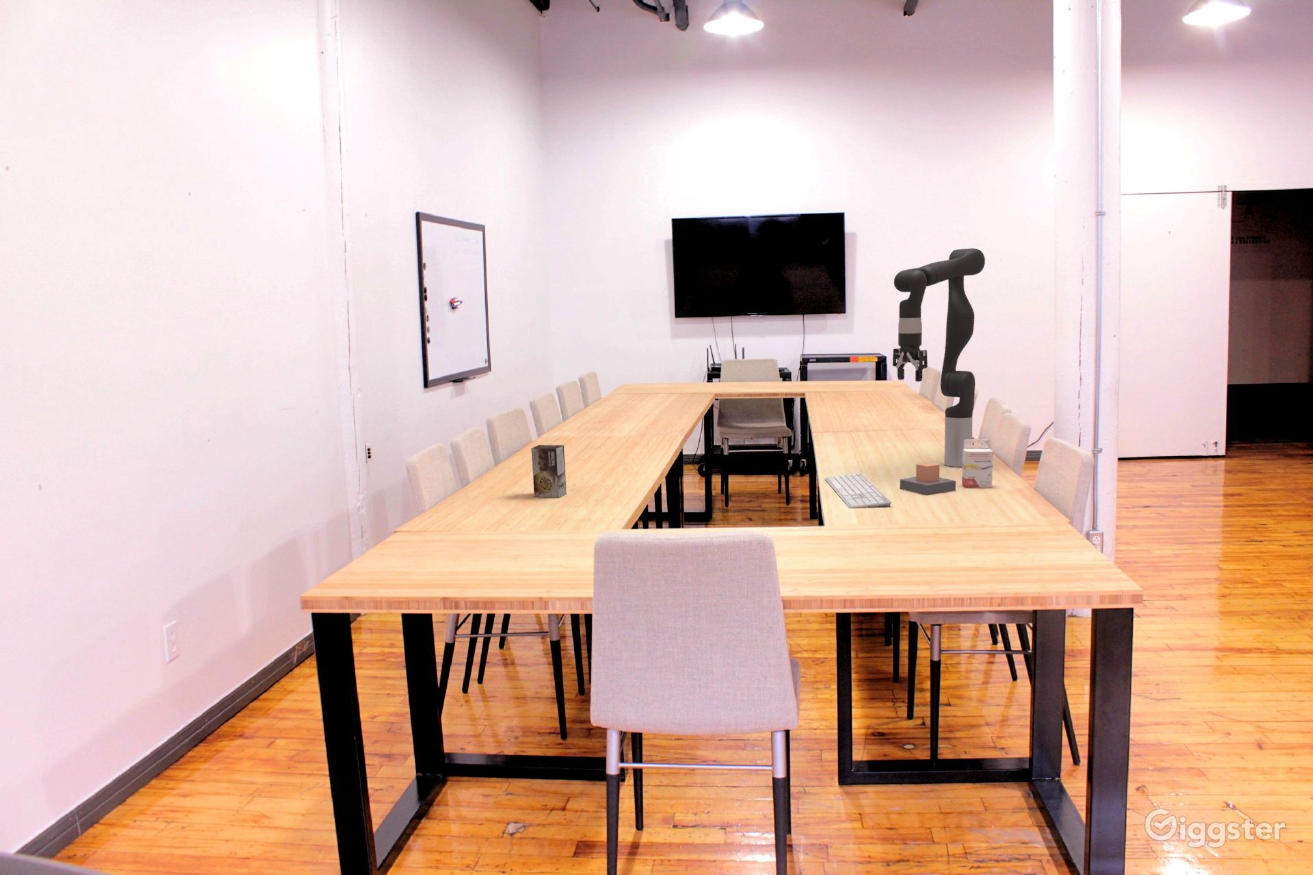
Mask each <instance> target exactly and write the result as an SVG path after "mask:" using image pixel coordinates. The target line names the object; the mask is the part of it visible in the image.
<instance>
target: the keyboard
mask: <svg viewBox="0 0 1313 875" xmlns="http://www.w3.org/2000/svg"><path fill="white" fill-rule="evenodd" d="M824 480H825V481H826V482H827V483H828V485H829V486H830V487H831V488H832V489H833V490H834V492H836V494H837V495H838V497H839V498H840V499H841V500H842V501H843V503H844V504H845V503H846V504H845V505H846V506H847V507H848V508H849V509H863V508H865V509H866V507H868V508H875V507H879V506H880V507H891V504H892V501H891V500H890V499H889V498H888V497H887V496H886V495H885V494H884V493H883V492H881V491H880V489H878V488H877V487H876V486H875V485H874V484H873V483H872V482H871V481H870V480H869V479H868V478H867V477H866V476H864V475H863V473H861V472H860V473H854V474H847V475H838V476H829V477H827V476H826V477H825V478H824Z"/></svg>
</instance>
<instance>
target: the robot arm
mask: <svg viewBox="0 0 1313 875" xmlns="http://www.w3.org/2000/svg"><path fill="white" fill-rule="evenodd" d="M948 257H949V258H948V259H947V260H946V259H945V260H941V261H936V262H931V263H928V264H927V263H926V264H924V265H922V266H920V267H914V268H908V269H903V270H901V271H899V272H897V274H896V275H895V276H894V278H893V285H894V288H895V289H896V290H897V291H898V292H900V293H909V296H908V298H906V299H903V300H901V301H900V302H899V306H898V310H899V311H898V317H899V319H898V325H897V326H898V328H897V329H898V330H897V331H898V334H897V336H898V339H897V344H898V345H897V346H899V347H898V348H896V347H895V348H893V349H892V350H893V351H892V367H895V368H896V369H897V370H896V371H897V372H896V375H897V376H896V377H897V380H898V381H903V380H905V366H906V364H907V363H911V364H912V366H913V367H914V368H915V370H914V371H915V377H914V379H915V382H918V383H919V382H922V381H923V376H924V375H923V373H924V372H923V371H924V370H925V369H928V350H927V349H921V348H920V347H921V346H922V343H923V341H922V336H923V330H922V329H923V326H922V324H923V323H922V304H923V299H924V296H925V293H926V289H927V288H928V287H930V286H933V285H936V284H939V283H942V282H945V281H948V296H947V297H948V298H947V299H948V301H947V313H946V323H945V325H946V326H945V327H946V328H945V345H944V355H943V361H942V362H943V363H942V369H941V376H940V384H939V385H940V391H941V394H942V395H943V396H944V397H948V398H949V397H951V398H959V400H958V402H957V404H955V405H953V406H949V407H946V408H945V410H944V466H947V467H956V468H962V464H963V449H964V440H965V439H966V440H972V439H975V437H973V414H974V412H973V411H974V408H975V407H974V406H975V393H976V378H975V377H976V376H975V375H974V373H973V372H972V371H969V370H957V363H958V360H959V357H960V355H961V353H962V352H963V350H964V349H965V347H966V346H967V345H968V343H969V342H970V340H971V339H972V337H973V335H974V329H975V310H974V309H973V307H972V304H971V302H970V300H969V299H968V297H967V294H966V291H965V277H966V276H967V277H968V276H976V275H978V274H980V273H981V272H982V271H983V270H984V268H985V264H986V257H985V255H984V253H983V251H982V250H980V249H978V248H974V247H973V248H972V247H970V248H959V249H953V250H952V251H951V252H950V254H949V256H948ZM972 445H975V443H972Z"/></svg>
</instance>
